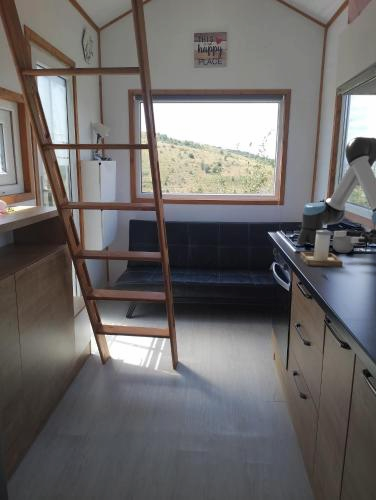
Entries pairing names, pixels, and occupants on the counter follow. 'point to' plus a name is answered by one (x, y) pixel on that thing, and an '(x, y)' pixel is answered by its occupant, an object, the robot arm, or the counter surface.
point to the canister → (322, 245)
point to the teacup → (342, 244)
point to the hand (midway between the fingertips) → (342, 236)
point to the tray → (331, 261)
